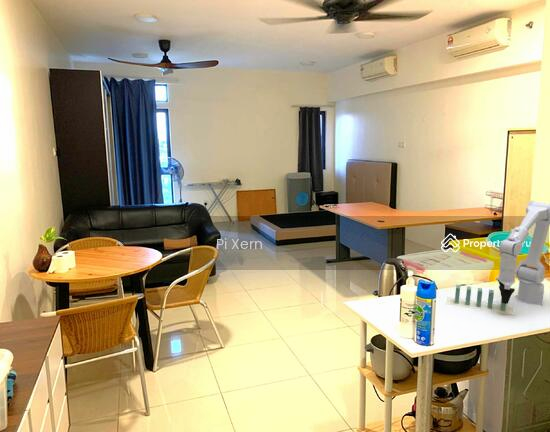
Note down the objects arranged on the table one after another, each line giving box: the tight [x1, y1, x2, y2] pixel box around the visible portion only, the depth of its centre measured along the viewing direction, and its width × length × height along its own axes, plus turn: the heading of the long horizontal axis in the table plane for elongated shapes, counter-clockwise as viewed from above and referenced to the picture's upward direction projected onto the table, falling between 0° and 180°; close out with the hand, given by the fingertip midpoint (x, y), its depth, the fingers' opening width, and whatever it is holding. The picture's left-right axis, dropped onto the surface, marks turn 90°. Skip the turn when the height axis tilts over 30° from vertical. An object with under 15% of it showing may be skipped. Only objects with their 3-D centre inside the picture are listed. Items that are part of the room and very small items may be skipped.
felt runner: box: [445, 296, 516, 316], centre depth 178 cm, size 26×9×1 cm, turn 65°
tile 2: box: [487, 289, 495, 309], centre depth 176 cm, size 2×4×7 cm, turn 155°
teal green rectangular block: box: [500, 299, 507, 311], centre depth 174 cm, size 2×4×7 cm, turn 155°
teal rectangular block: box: [476, 287, 483, 307], centre depth 178 cm, size 2×4×7 cm, turn 155°
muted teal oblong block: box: [465, 285, 472, 305], centre depth 180 cm, size 2×4×7 cm, turn 155°
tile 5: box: [454, 284, 461, 304], centre depth 182 cm, size 2×4×7 cm, turn 155°
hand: (504, 299), depth 174 cm, fingers open, 7 cm apart
